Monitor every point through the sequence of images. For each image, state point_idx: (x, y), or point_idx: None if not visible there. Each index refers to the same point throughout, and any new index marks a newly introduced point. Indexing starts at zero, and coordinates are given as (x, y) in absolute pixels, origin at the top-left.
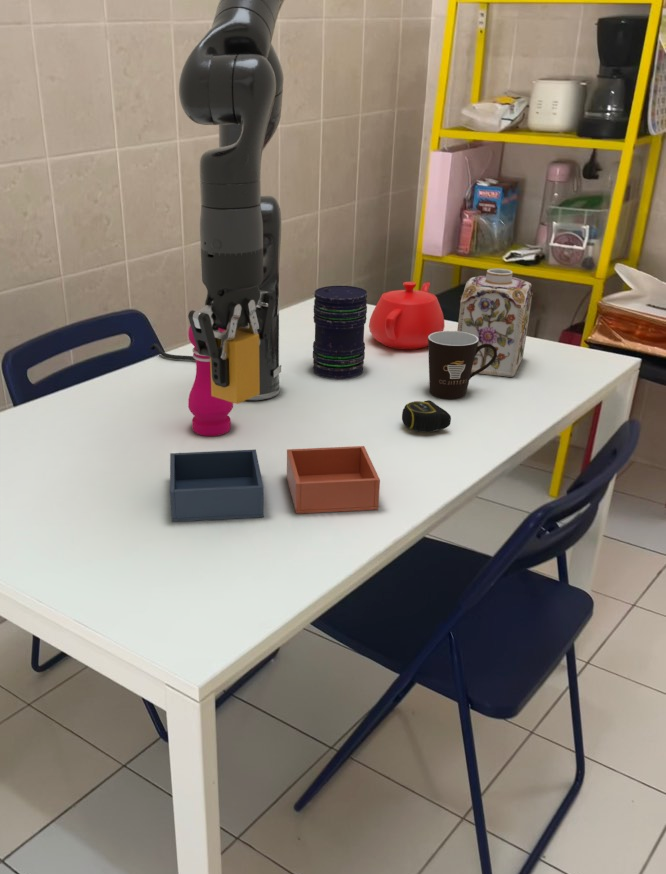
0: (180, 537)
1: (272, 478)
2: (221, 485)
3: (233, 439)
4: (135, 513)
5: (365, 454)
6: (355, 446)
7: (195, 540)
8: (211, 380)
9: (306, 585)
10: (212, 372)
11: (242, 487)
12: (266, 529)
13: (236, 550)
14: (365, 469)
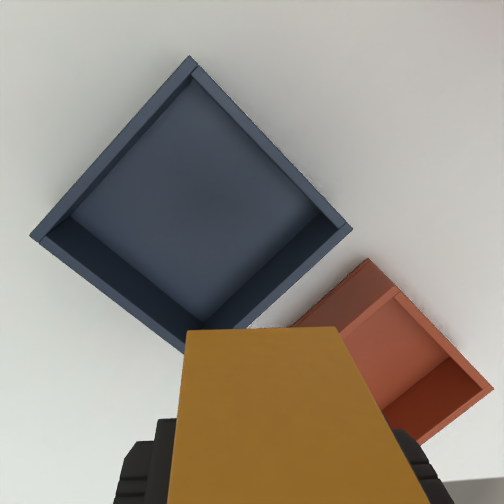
0: (32, 270)
1: (349, 237)
2: (243, 188)
3: (490, 4)
4: (19, 118)
5: (456, 413)
6: (483, 379)
7: (47, 298)
8: (182, 379)
9: (89, 493)
10: (118, 490)
11: (169, 340)
12: (173, 360)
13: (81, 370)
14: (425, 408)
